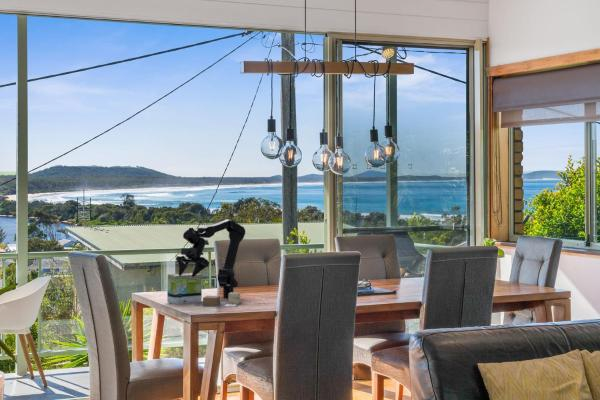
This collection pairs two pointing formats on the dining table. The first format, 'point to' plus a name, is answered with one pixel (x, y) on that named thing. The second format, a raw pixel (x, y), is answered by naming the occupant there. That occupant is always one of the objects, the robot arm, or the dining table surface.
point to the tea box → (184, 288)
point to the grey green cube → (234, 298)
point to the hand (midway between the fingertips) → (186, 276)
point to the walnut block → (211, 300)
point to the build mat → (219, 304)
